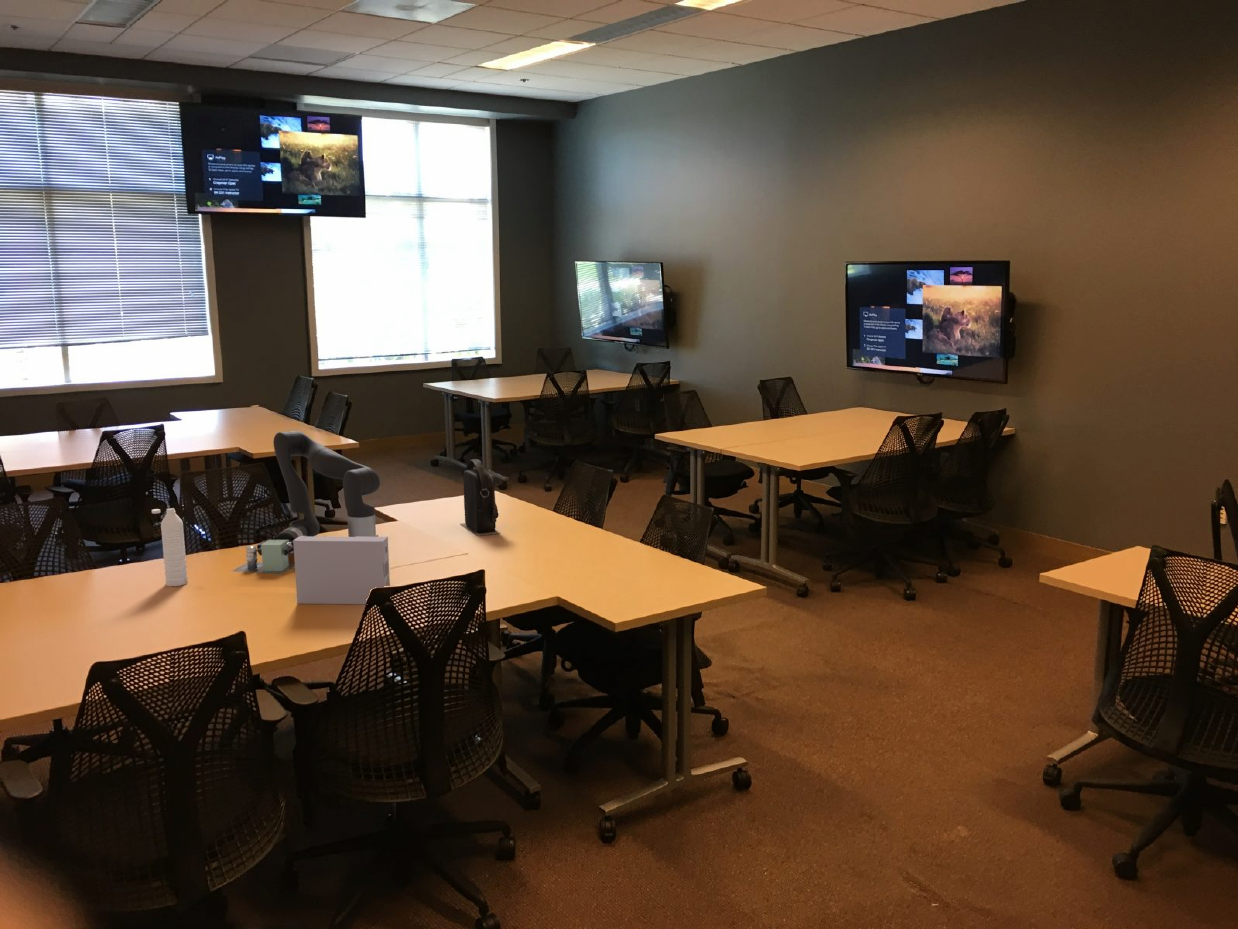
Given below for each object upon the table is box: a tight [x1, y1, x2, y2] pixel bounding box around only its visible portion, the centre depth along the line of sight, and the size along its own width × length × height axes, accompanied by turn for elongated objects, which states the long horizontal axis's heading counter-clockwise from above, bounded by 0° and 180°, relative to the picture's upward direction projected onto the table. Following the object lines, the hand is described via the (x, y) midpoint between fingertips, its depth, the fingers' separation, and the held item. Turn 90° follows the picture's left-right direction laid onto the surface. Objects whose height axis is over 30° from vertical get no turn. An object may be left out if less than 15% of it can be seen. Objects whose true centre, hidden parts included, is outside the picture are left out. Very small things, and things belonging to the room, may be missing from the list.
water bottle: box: [151, 507, 189, 587], centre depth 317 cm, size 9×6×25 cm
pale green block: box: [261, 539, 290, 571], centre depth 331 cm, size 6×6×9 cm
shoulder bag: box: [459, 458, 501, 537], centre depth 389 cm, size 23×9×28 cm, turn 28°
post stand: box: [231, 545, 295, 575], centre depth 332 cm, size 18×11×8 cm, turn 80°
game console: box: [293, 536, 391, 605], centre depth 301 cm, size 6×27×20 cm, turn 88°
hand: (272, 552), depth 329 cm, fingers open, 8 cm apart
